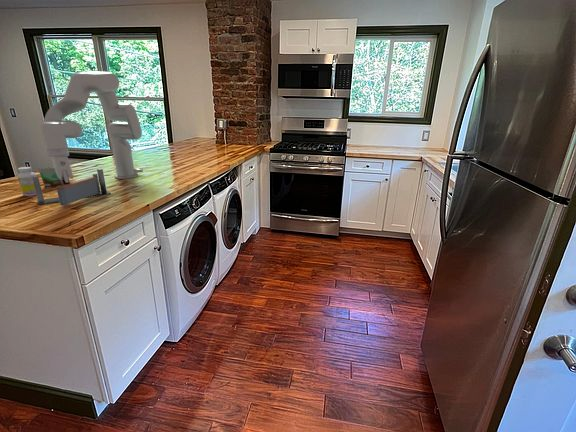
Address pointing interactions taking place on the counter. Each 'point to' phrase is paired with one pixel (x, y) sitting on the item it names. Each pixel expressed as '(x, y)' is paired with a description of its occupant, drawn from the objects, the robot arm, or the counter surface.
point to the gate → (78, 190)
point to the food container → (49, 177)
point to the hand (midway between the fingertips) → (68, 193)
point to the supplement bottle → (26, 181)
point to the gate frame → (54, 200)
